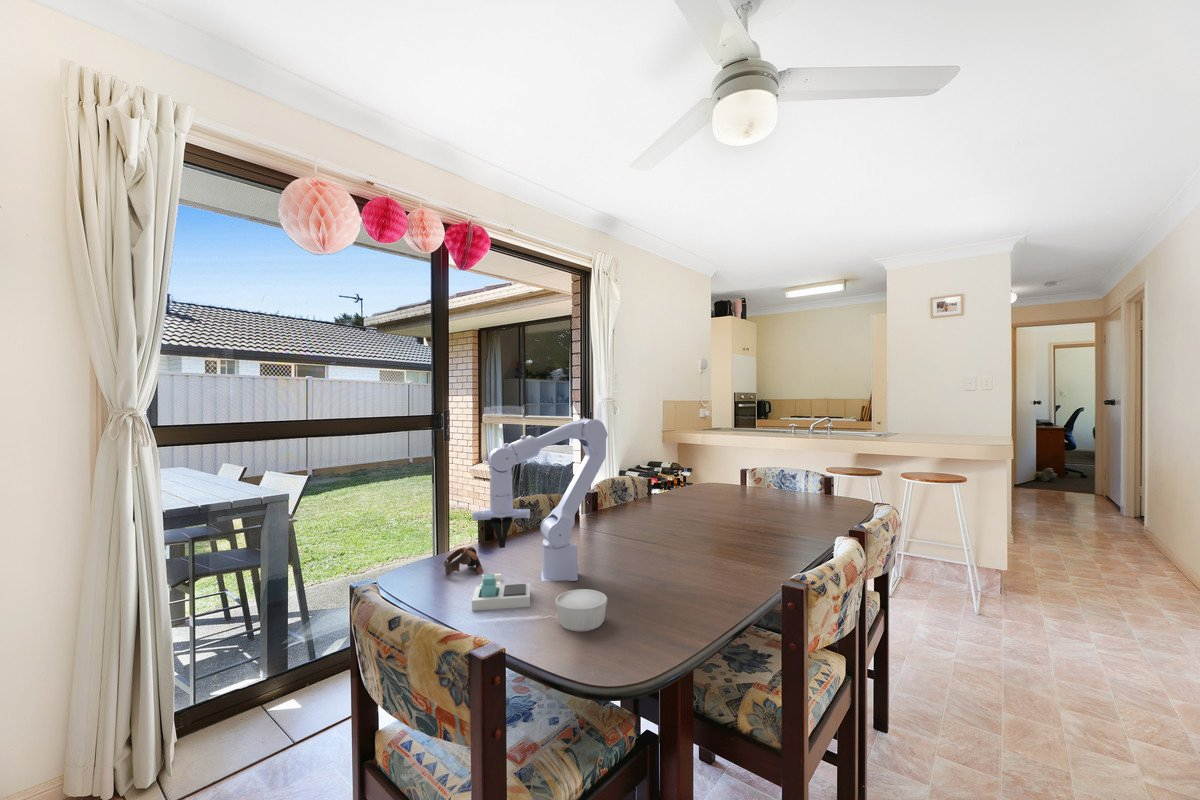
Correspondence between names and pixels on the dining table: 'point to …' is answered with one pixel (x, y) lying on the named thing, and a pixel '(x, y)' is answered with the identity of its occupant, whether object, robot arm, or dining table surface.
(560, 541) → the robot arm
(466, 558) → the brown jagged curved sculpture
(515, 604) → the panel
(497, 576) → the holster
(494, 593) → the plug
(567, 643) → the dining table surface
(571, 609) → the ramekin
